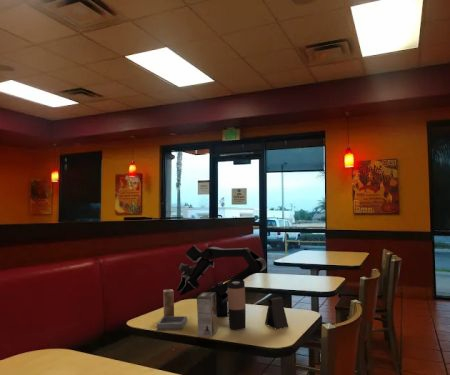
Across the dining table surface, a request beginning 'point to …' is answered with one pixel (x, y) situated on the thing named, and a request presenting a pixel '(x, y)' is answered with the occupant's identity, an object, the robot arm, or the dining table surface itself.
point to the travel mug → (236, 304)
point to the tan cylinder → (168, 302)
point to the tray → (172, 323)
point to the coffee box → (207, 314)
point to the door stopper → (276, 313)
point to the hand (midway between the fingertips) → (178, 292)
